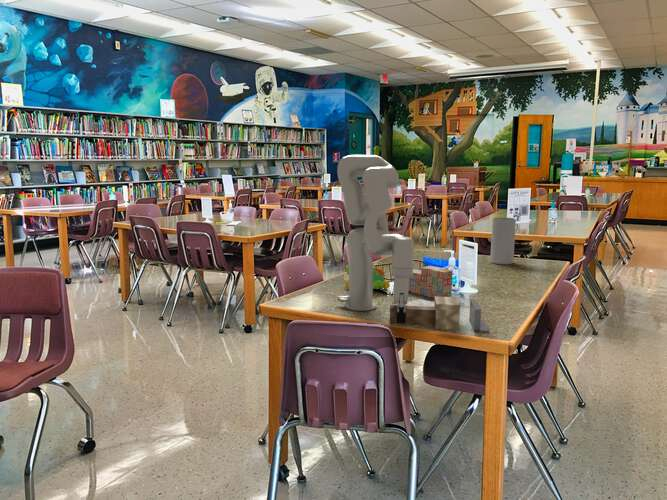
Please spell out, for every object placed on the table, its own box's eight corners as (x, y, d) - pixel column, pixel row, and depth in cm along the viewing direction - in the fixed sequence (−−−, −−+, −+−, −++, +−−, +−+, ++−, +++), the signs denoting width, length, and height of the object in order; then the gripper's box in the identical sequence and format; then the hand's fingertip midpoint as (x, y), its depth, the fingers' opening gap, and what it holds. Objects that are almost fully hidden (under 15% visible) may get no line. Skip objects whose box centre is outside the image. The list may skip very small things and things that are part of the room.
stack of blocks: (404, 291, 260) (405, 264, 258) (414, 289, 264) (414, 262, 262) (442, 300, 244) (443, 271, 242) (451, 298, 248) (453, 269, 246)
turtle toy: (363, 281, 279) (363, 257, 277) (394, 291, 260) (395, 265, 258) (333, 285, 270) (334, 260, 268) (364, 296, 251) (364, 269, 249)
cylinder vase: (514, 261, 333) (516, 218, 329) (512, 265, 321) (515, 220, 317) (491, 260, 337) (493, 217, 333) (489, 263, 326) (491, 219, 322)
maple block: (435, 329, 204) (436, 304, 203) (433, 320, 215) (434, 296, 214) (458, 329, 203) (460, 304, 202) (455, 321, 214) (456, 297, 213)
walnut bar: (389, 324, 209) (389, 308, 208) (389, 320, 214) (390, 304, 213) (440, 326, 207) (441, 310, 206) (439, 322, 212) (440, 306, 211)
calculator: (420, 302, 242) (420, 298, 242) (459, 312, 227) (460, 308, 227) (398, 307, 234) (398, 303, 233) (438, 318, 219) (438, 313, 218)
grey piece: (474, 331, 201) (475, 309, 200) (469, 320, 215) (470, 299, 214) (488, 332, 201) (490, 309, 200) (483, 320, 215) (484, 299, 213)
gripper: (392, 266, 216) (390, 314, 219) (391, 276, 200) (390, 327, 203) (412, 267, 216) (411, 315, 219) (413, 276, 199) (411, 328, 202)
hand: (400, 320), depth 211 cm, fingers closed on walnut bar, 4 cm apart
